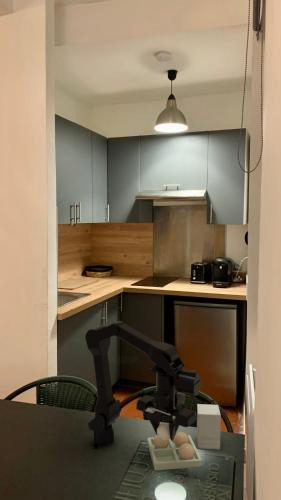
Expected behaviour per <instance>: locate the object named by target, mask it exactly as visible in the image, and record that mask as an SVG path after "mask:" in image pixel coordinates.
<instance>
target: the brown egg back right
mask: <svg viewBox="0 0 281 500" xmlns="http://www.w3.org/2000/svg"><path fill="white" fill-rule="evenodd" d="M188 435H189V434H187V433H186V432H183V431H180V432H176V435H175V437H174V444H175V445H176V447H177V448H178V447H180V446H181V445H182V444H185V443H187V444H189V437H188Z"/></svg>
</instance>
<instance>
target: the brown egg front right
mask: <svg viewBox="0 0 281 500" xmlns="http://www.w3.org/2000/svg"><path fill="white" fill-rule="evenodd" d="M194 455H195V450H194V448H193V446H192V445H190V444H187V443H185V444H182V445H181V446H180V448H179V456H180V458H181V459H182V460H191V459H193V458H194Z"/></svg>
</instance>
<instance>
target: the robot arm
mask: <svg viewBox="0 0 281 500" xmlns="http://www.w3.org/2000/svg"><path fill="white" fill-rule="evenodd" d="M111 337H117V338H118V339H120V340H122V341H123V342H126V343H127V344H129V345H131V346H132V347H133V348H136V349H137V350H139V351H140V352H142V353H144V354H145V355H146V356H147V357H148V359H149V360H150V361H151V362H152V363H153V364H154V365H153V367H152V368H150V369H149V372H150V373H155V374H156V383H155V384H156V387H155V388H156V389H155V391H153V396H155V397H153V396H151V395H148V394H147V395H144V396H142V397H141V398H139V399H137V401H136V403H135V404H136V405H135V409H136V410H138V411H140V412H144V416H146V418H147V419H148V421H149V422H150V424H151V427H152V429H153V430H154V433H155V436H156V435H157V428H158V426H159V425H160V424H161V413H163V414H165V415H168V416H172V420H170V421H169V422H168V424H169V432H170V439H171V441H173V440H174V437H175V435H176V434H177V433H178V430H179V428H180V426H181V427H183V428H189V427H190V426H191V425H193V424H194V423H195V422H197V413H196V412H195V411H194V410H192V409H188V408H186V407H184V408H182V409H180V410H177V409H176V408H179V406H180V405H183V406H184V404H185V399H186V394H188V395H192V396H198V395H199V393H200V391H201V386H202V380H201V376H200V375H199V371H198V370H194V369H193V370H192V369H187V368H186V365H185V364H184V361H183V360H182V359H181V356H180V355H179V352H178V349H177V347H176V346H175V345H172V344H171V343H167V342H164V341H158V340H154V339H152V338H151V337H149V336H147V335H146V334H143V333H142V332H140V331H138V330H137V329H135V328H133V327H131V326H129V325H128V324H126V322H124V321H123V320H122V321H121V320H118V321H116V322H112V323H110V325H108V326H106V325H103V324H101V325H99V326H96V327H93V328H91V329H89V330H88V331H87V332H86V333H85V336H84V340H85V342H86V347H87V349H88V350H89V352H90V353H91V355H92V357H93V358H92V359H93V366H94V375H95V376H94V377H95V383H96V392H97V400H96V405H95V407H94V418H92V419H91V420H90V421H89V422H88V423H87V425H88V429H89V430H90V431H92V449H94V450H97V449H98V450H99V447H104V446H109V445H110V444H113V443H115V435H114V434H115V429H114V427H113V424H114V423H116V420H118V419H119V417H120V414H121V412H122V408H121V401H120V399H116V398H115V396H114V395H113V388H112V380H111V372H110V363H109V362H110V361H109V355H108V353H109V349H110V346H111ZM173 364H174V365H173ZM172 365H173V366H172ZM185 368H186V369H185Z"/></svg>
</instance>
